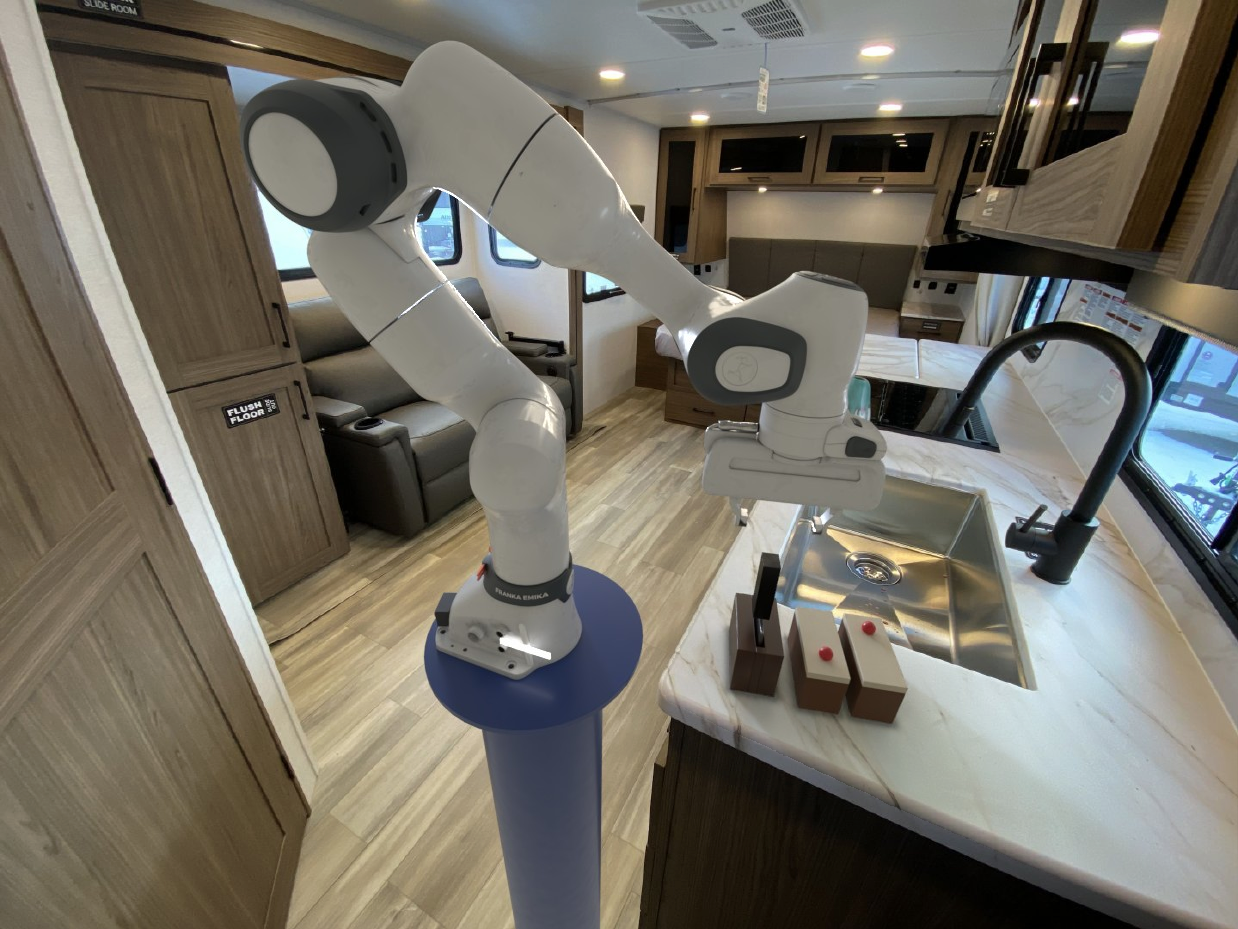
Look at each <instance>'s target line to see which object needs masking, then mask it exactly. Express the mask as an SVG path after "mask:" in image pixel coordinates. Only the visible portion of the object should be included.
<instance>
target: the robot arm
mask: <svg viewBox="0 0 1238 929" xmlns="http://www.w3.org/2000/svg"><path fill="white" fill-rule="evenodd" d="M238 137H239V146H240V151H241V155H242V159H243V161H244V164H245V167H246V169H247V171H248V173H249V175H250V177H251V180H252V181H253V182H254V184H255V185H256V187H257V189H258V190H259V191H260V193H261V194H262V196H263V197H264V198H265V199H266V201H267V202H268V203H269V204H270V205H271V206H272V207H273V208H274V209H275V210H276V211H277V212H279V213H280V214H281V215H282V216H283V217H285V218H286V219H288V220H289V221H291V222H292V223H295V225H298V226H300V227H302V228H305V229H307V230H311V231H312V232H311V233H310V236H309V239H308V242H307V245H306V257H307V261H308V264H309V266H310V269H311V270H312V272H313V274H314V276H315V277H316V278H317V279H318V281H319V283H320V284H321V286H322V287H323V288H324V290H325V291H326V293H327V294H328V295H329V297H330V298H331V300H332V301H333V302H334V304H335V305H336V307H337V308H338V309H339V310H340V311H341V312H342V314H343V315H344V316H345V318H346V319H347V320H348V321H349V322H350V324H352V326H353V327H354V328H355V329H356V331H358V333H359V334H360V335H361V336H362V337H363V338H364V339H365V340H366V342H368V343H369V345H370V346H371V347H372V348H373V349H374V350H375V351H376V352H377V353H378V354H379V355H380V356H381V357H382V359H384V361H386V362H387V363H388V365H389V366H390V367H391V368H392V369H393V370H394V371H395V372H396V373H397V374H398V375H399V376H400V377H401V378H402V379H403V380H404V382H406V384H408V386H409V387H410V388H412V390H413V391H414V392H415V393H416V394H418V396H420V397H421V398H423V399H425V400H426V401H430V402H435V403H438V404H440V405H442V406H444V407H445V408H447V409H448V410H450V411H452V412H454V413H455V414H456V415H458V416H460V417H461V418H462V419H463V420H465V421H466V422H467V423H468V424H469V425H471V427H472V428H473V429H474V431H475V435H474V438H473V441H472V443H471V445H470V449H469V453H468V454H469V455H468V456H469V457H468V475H469V484H470V488H471V491H472V494H473V495H474V497H475V498H476V500H477V501H478V502H479V504H480V505H481V508H482V511H483V514H484V517H485V520H486V524H487V531H488V538H489V547H488V552H489V553H488V554H486V555H485V556H484V557H483V559H482V561H481V566H480V567H479V569H478V570H477V572H475V573H473V574H472V575H470V577H469V578H468V579H467V580H466V581H465V582H464V583H463V585H462V586H461V587H460V588H459V589H458V591H457V592H449V591H446V592H445V591H443V593H442V595H441V597H440V599H439V601H438V604H437V605H436V607H435V609H434V614H433V615H434V617H435V618H436V622H437V626H438V629H437V632H436V648H437V650H439V651H441V652H444V653H446V654H449V655H451V656H454V657H457V658H459V659H462V660H464V661H467V662H470V663H472V664H475V665H477V666H480V667H483V668H485V669H488V670H491V671H493V672H496V673H498V674H501V675H504V676H506V677H509V678H512V679H515V680H519V679H522V678H524V677H526V676H527V675H529V674H530V673H531V672H533V671H534V670H535V669H537V668H539V667H542V666H545V665H548V664H551V663H554V662H556V661H558V660H560V659H561V658H563V657H564V656H566V655H567V654H568V653H570V652H571V651H572V650H573V648H574V647H575V646H576V644H577V643H578V641H579V639H580V636H581V632H582V623H581V619H580V617H579V615H578V612H577V610H576V607H575V603H574V598H573V593H572V591H573V586H574V569H573V564H574V563H573V555H572V552H571V551H570V533H569V532H570V531H569V530H570V528H569V509H568V508H569V507H568V491H567V490H568V488H567V461H566V460H567V457H566V456H567V436H566V435H567V434H566V431H567V430H566V429H567V428H566V425H567V418H566V411H565V409H564V406H563V404H562V402H561V399H560V398H559V396H558V395H557V393H556V392H555V391H554V389H553V388H552V387H551V386H550V385H548V384H547V383H546V382H544V381H542V380H541V379H540V378H539V377H538V376H537V375H536V374H535V373H534V372H533V371H532V370H531V369H530V368H529V367H528V366H527V365H526V364H525V363H523V362H522V361H521V360H520V359H519V358H518V357H516V356H515V355H514V354H513V353H512V352H511V351H510V350H509V349H508V348H507V347H506V346H505V345H503V343H502V342H500V341H499V339H498V338H497V337H496V336H495V335H494V334H493V333H492V331H490V329H489V328H488V327H487V326H486V324H485V323H484V322H483V321H482V320H481V319H480V317H479V316H478V315H477V313H476V312H475V311H474V310H473V308H472V307H471V306H470V305H469V304H468V303H467V301H466V300H465V299H464V298H463V296H462V295H461V294H460V292H459V291H458V290H457V289H456V288H455V287H454V285H453V283H451V281H448V280H449V279H448V278H447V277H446V276H445V275H444V274H443V272H442V271H441V269H439V267H438V266H437V265H436V264H435V262H434V261H433V260H432V259H431V257H430V256H429V255H428V254H427V252H426V251H425V249H424V248H423V246H422V244H421V242H420V240H419V236H418V233H417V223H423V222H428V221H429V219H431V216H432V214H433V212H434V210H435V208H436V205H437V204H438V201H439V200H440V198H441V196H442V194H443V192H445V193H448V194H449V195H451V196H453V197H455V198H456V199H458V201H460V202H461V203H463V204H464V205H465V206H467V207H468V208H469V209H470V210H471V211H473V212H474V213H475V214H476V215H477V216H479V217H480V219H482V220H483V221H484V222H485V223H486V224H488V225H489V226H490V227H491V228H493V229H494V230H495V231H496V232H498V233H499V234H500V235H502V237H504V238H505V239H507V240H508V241H509V242H511V243H512V244H513V245H515V246H516V247H518V248H519V249H521V250H522V251H524V252H526V253H527V254H529V255H531V256H532V257H535V258H536V259H538V260H540V261H541V262H543V263H545V264H547V265H549V266H550V267H554V268H558V269H559V268H560V269H566V270H573V271H582V272H586V273H589V274H594V275H597V276H599V277H602V278H604V279H605V280H607V281H610V282H612V283H613V285H616V286H617V287H619V288H620V289H621V290H622V291H623V292H625V293H626V294H627V295H629V296H630V297H631V298H632V299H634V300H635V301H636V302H637V303H638V304H639V305H641V306H642V307H643V308H644V309H645V310H647V311H648V312H649V313H650V314H652V315H653V316H654V317H655V318H656V319H658V320H659V321H660V322H661V323H662V324H663V325H664V326H665V327H666V329H667V330H668V332H669V333H670V334H671V336H672V338H673V341H674V344H675V346H676V349H677V350H678V352H679V354H680V356H681V358H682V360H683V364H684V368H685V371H686V374H687V376H688V378H689V381H690V384H691V385H692V387H693V389H694V390H695V391H696V392H697V393H698V394H699V395H700V396H701V397H702V398H704V399H705V400H706V401H708V402H711V403H713V404H716V405H720V406H725V407H731V406H732V407H735V406H746V405H756V404H761V409H760V415H759V420H758V422H748V421H747V422H746V421H731V420H718V423H713V424H711V425H709V426H708V427H707V428H706V429H705V431H704V435H703V443H702V445H703V446H702V447H703V450H704V451H705V453H706V456H705V460H704V464H703V469H702V478H701V488H702V489H703V490H704V492H705V493H706V494H707V495H710V496H718V497H726V498H727V497H728V504H729V506H730V508H731V510H732V512H733V514H734V520H733V526H735V527H741V528H742V527H743V528H747V525H748V519H749V510H748V508H743V507H741V503H742V499H743V500H744V499H746V500H752V501H753V500H755V501H764V502H773V503H781V504H789V505H800V506H808V507H816V508H817V507H819V508H827V509H826V510H825V511H824V512H823V513H822V514H821V515H820V516H812V523H811V524H810V531H811V535H813V536H820V537H826V536H827V532H828V529H829V526H832V524H834V523H835V522H836V521H837V520H839V518H840V517H842V516H843V515H842V514H843V512H844V511H845V510H847V511H853V512H854V511H855V512H863V513H869V512H871V511H873V510H875V509H876V508H877V507H879V506H880V503H881V501H882V498H883V493H884V488H885V484H886V476H887V472H886V471H887V470H886V466H885V464H884V462H883V460H882V459H883V458H884V457H885V455H886V454H887V451H888V444H887V440H886V439H885V438H884V435H883V434H882V433H881V431H880V430H879V429H878V427H877V426H876V425H875V424H873V422H872V421H871V420H870V421H868V420H866V419H864V418H861V417H858V416H856V415H853V414H851V413H848V412H847V410H848V390H849V385H850V383H851V381H852V379H853V377H854V376H856V374H857V372H858V369H859V366H860V361H861V357H862V353H863V348H864V344H865V338H866V332H867V327H868V321H869V320H868V319H869V298H868V294H867V293H866V292H865V290H864V289H863V288H862V287H861V286H860V285H859V284H857V283H855V282H853V281H850V280H846V279H844V278H839V277H837V276H833V275H829V274H825V273H821V272H817V271H816V272H815V271H809V270H801V271H796V272H793V273H792V274H790V276H789V277H787V278H786V279H785V280H784V281H782V282H780V283H779V284H777V285H776V286H774V287H772V288H771V289H768V290H766V291H764V292H762V293H760V294H758V295H756V296H753V297H751V298H748V299H746V298H744V297H743V296H742V295H740V294H738V293H736V292H734V291H731V290H729V289H725V288H721V287H717V286H714V285H711V284H708V283H705V282H704V281H702V280H701V279H699V278H698V277H697V276H695V275H694V274H693V273H691V271H689V269H687V268H686V267H685V266H684V265H683V264H682V263H681V262H680V261H678V260H677V259H676V258H675V257H674V256H673V255H672V254H671V253H670V252H669V251H667V250H666V249H665V248H664V247H663V246H662V245H661V244H660V243H659V242H657V240H656V239H655V238H653V237H652V236H651V234H650V233H649V232H648V231H647V230H646V229H645V228H644V226H643V225H642V223H641V222H640V220H639V219H638V218H637V216H636V214H635V212H634V211H633V209H632V207H631V205H630V204H629V202H628V200H627V199H626V196H625V194H624V192H623V191H622V189H621V187H620V185H619V183H618V182H617V180H616V179H615V177H614V175H613V174H612V173H611V171H610V170H609V169H608V167H607V166H606V165H605V163H604V161H603V160H602V159H601V157H599V155H598V154H597V153H596V151H595V150H594V149H593V148H592V146H591V145H590V144H589V143H588V142H587V140H586V139H585V138H584V137H583V136H582V135H581V134H580V133H579V132H578V131H577V130H576V128H574V126H573V125H571V123H570V122H568V120H566V118H564V116H562V115H561V114H560V113H559V112H558V111H557V110H556V109H555V108H553V107H552V106H551V105H550V104H549V103H548V102H547V101H546V100H544V98H542V97H541V96H540V95H539V94H538V93H537V92H536V91H534V90H533V89H532V88H531V87H529V86H528V85H527V84H526V83H524V82H523V81H522V80H521V79H519V78H518V77H517V76H515V75H514V74H512V73H511V72H510V71H508V70H507V69H505V68H504V67H502V66H501V65H500V64H498V63H497V62H495V61H494V60H492V59H491V58H489V57H488V56H486V55H485V54H483V53H481V51H478V50H477V49H475V48H473V47H472V46H470V45H468V44H466V43H464V42H462V41H461V42H460V41H457V40H443V41H439V42H436V43H434V44H432V45H430V46H429V47H427V48H426V49H425V50H423V51H422V52H421V53H420V54H419V55H418V56H417V57H416V59H415V60H414V61H413V63H412V64H411V66H410V67H409V69H408V71H407V73H406V75H405V77H404V80H403V82H401V81H398V80H395V79H378V78H377V79H376V78H374V77H373V78H372V77H367V76H361V75H360V76H359V75H347V74H346V75H337V76H333V77H327V78H319V79H313V80H312V79H306V78H297V79H289V80H285V81H280V82H277V83H275V84H272V85H269V86H268V87H266V88H264V89H262V90H261V91H259V92H258V93H256V94H255V95H254V96H252V98H251V99H250V100H249V101H248V102H247V103H246V104H245V106H244V108H243V110H242V113H241V115H240V119H239V126H238ZM442 633H444V634H442ZM511 667H513V668H512V669H509V668H511Z"/></svg>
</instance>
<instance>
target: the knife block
mask: <svg viewBox="0 0 1238 929" xmlns="http://www.w3.org/2000/svg"><path fill="white" fill-rule="evenodd" d="M752 599H753V594H748V593H742V592H735V595H734V598H733V604H732V611H731V617H730V622H729V626H728V658H729V660H728V661H729V662H728V663H729V664H728V665H729V667H728V668H729V669H728V670H729V690H731V691H735V692H736V691H737V692H743V693H748V694H753V695H759V696H766V697H772V698H775V694H776V690H777V686H778V683H779V679H780V675H781V671H782V668H783V663H784V660H785V651H784V644H783V637H782V629H781V623H780V616H779V609H778V608H779V607H778V602H777V597H775V598H774V602H773V607H772V611H771V615H770V620H764V619H763V629H764V635H763V640H762V644H761V647H756V646H755V633H754V620H753V612H752Z"/></svg>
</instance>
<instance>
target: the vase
mask: <svg viewBox="0 0 1238 929" xmlns="http://www.w3.org/2000/svg"><path fill="white" fill-rule="evenodd" d="M871 411H872V409H871V383H870V381H869V380H868V378H867V379H866V378H865V377H863V376H860V375H855V376H854V377H853V379H852V381H851V383H850V385H849V390H848V410H847V412H848V413H851V414H853V415H856V416H858V417H861V418H864V419H866V420H868V421H870V422H871V413H872V412H871Z"/></svg>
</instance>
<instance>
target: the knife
mask: <svg viewBox="0 0 1238 929" xmlns="http://www.w3.org/2000/svg"><path fill="white" fill-rule="evenodd" d="M781 571H782V566H781V559H780V555H779V553H772V552H764V551H761V554H760V560H759V564H758V570H757V573H756V574H757V575H756V579H755V585H754V588H753V594H752V595H753V599H752V612H753V620H754V633H755V646H756V647H761V644H762V640H763V635H764V629H763V619H764V620H770V615H771V611H772V607H773V602H774V598H776V594H777V589H778V585H779V580H780V575H781Z"/></svg>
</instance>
